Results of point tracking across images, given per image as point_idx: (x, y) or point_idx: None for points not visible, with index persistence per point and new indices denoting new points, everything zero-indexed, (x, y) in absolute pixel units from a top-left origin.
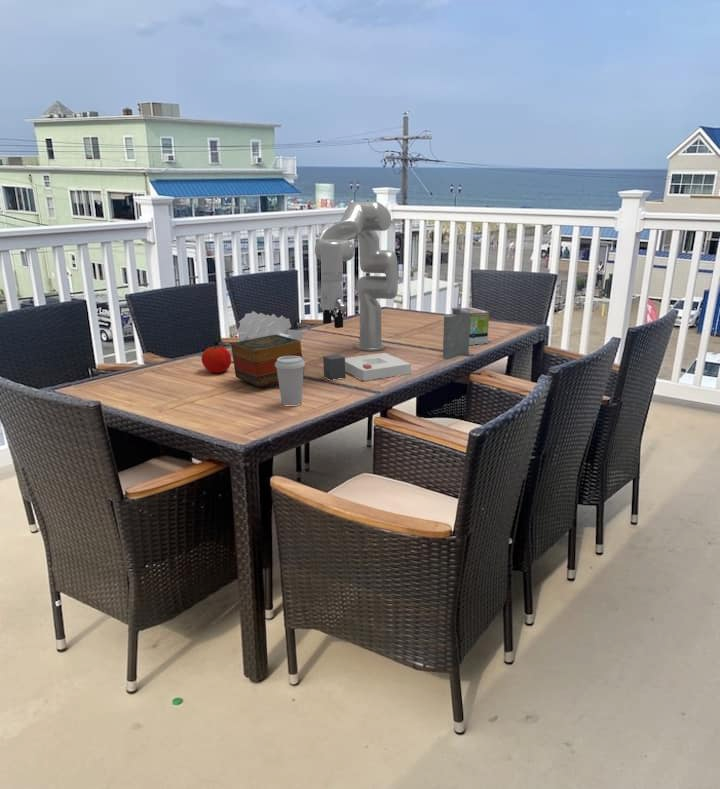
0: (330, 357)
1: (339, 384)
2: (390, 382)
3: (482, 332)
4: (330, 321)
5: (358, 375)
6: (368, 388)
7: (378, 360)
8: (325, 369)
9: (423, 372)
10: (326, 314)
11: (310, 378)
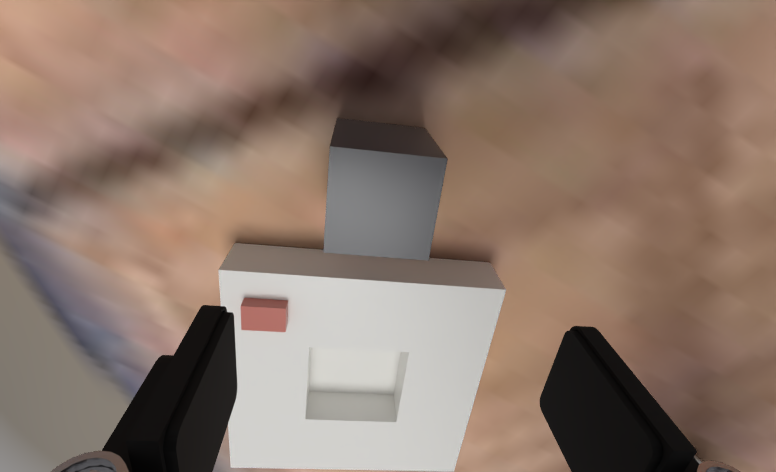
0: (380, 179)
1: (247, 120)
2: (167, 322)
3: None
4: (550, 408)
5: (287, 254)
6: (112, 202)
7: (395, 411)
8: (404, 135)
9: None
10: (623, 460)
11: (444, 45)
